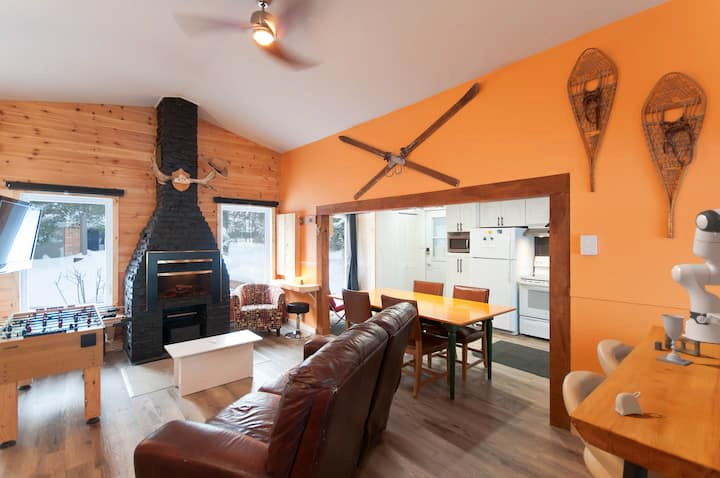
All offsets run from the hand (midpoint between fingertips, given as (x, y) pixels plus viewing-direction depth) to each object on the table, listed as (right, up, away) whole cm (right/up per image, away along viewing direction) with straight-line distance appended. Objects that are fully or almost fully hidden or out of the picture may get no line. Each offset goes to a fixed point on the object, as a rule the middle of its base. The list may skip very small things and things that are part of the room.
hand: (703, 319), depth 149 cm
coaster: (-19, -16, -7) cm, 26 cm away
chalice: (-19, -15, -7) cm, 25 cm away
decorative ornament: (-73, -15, -51) cm, 90 cm away
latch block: (-12, -16, +9) cm, 22 cm away
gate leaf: (-5, -15, +5) cm, 17 cm away
